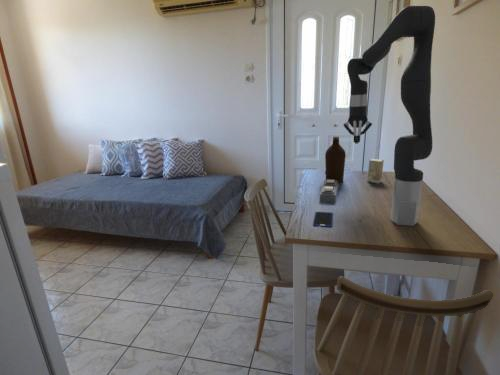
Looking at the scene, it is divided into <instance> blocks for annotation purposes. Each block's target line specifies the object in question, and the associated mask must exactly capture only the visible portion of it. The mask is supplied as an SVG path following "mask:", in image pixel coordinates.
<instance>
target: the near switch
mask: <svg viewBox="0 0 500 375" xmlns="http://www.w3.org/2000/svg"><path fill="white" fill-rule="evenodd" d="M332 190H333V187H332V186H325V188H324V191H332Z"/></svg>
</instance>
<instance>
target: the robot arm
mask: <svg viewBox="0 0 500 375" xmlns="http://www.w3.org/2000/svg"><path fill="white" fill-rule="evenodd" d="M435 27H436V13H435V10H434V8H433V7H432V6H429V5H407V6H405V7H404V8H402V9H401V10H400V11H399V12H398V13H397V14H396V15H395V16H394V17H393V19H392V20H391V22H390V23H389V24H388V25H387V27H386V28H385V29H384V30H383V32H382V33H381V35H380V36H379V37H378V38H377V40H375V41H374V42H373V43H372V44H371V45H370V46H369V47H368V48H367V49H365V51H364V52H363V54H362V56H361V57H353V58H350V60H349V61H348V63H347V66H346V67H347V74H348V79H349V83H350V98H349V111H348V112H349V114H348V119H347V121H346V122H345V123H343V127H344V128H345V130H347V132H348V133H349V135H352V136H353V143H354V144H355V145H356V144H359V143H360V142H361V136H362V135H365V133H367V131H368V130H369V129H370V128H371V126H372V125H373V123H372V122H370V121H369V120H368V82H367V80H364V79H361V77H360V76H361V75H362V76H363V75H368V74H370V73H371V72H372V71H373V70H374V69H375V67H376V65H377V64H378V63H379V62H381V61H382V60H383V59H385V58H386V57H387V55H388V54H389V53H390V50H391V48H392V44H393V43H394V42H396V41H397V40H400V39H402V38H413V51H412V54H411V58H410V60H409V62H408V64H407V65H406V67H405V69H404V71H403V73H402V75H401V78H400V100H401V102H402V104H403V107H404V108H405V110H406V112H407V114H408V115H409V117H410V119H411V122H412V134H409V135H402V136H400V137H399V138H397V140H396V142H395V145H394V153H393V170H394V180H393V181H394V182H393V183H394V184H393V191H392V201H391V213H390V220H391V222H393V223H395V225H399V226H407V227H408V226H411V227H415V225H416V224H417V223H418V216H419V210H420V202H421V195H422V194H421V193H422V187H423V179H424V173H423V171H422V170H420V169H418V168H415V161H420V160H422V161H423V160H426V159H427V158H429V157H430V156H431V154H432V151H433V134H432V121H431V120H432V119H431V92H432V54H433V52H432V51H433V44H434V43H433V41H434V36H435ZM350 126H351V128H352V129H353V130H352V129H351V128H350ZM364 126H365V127H364ZM363 127H364V128H363ZM362 128H363V130H362Z"/></svg>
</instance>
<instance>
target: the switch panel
mask: <svg viewBox="0 0 500 375" xmlns="http://www.w3.org/2000/svg"><path fill="white" fill-rule="evenodd" d="M325 186H332V187H333V190H332V191H324V188H325ZM338 189H339V184H338V181H337V180H335V182H334V183H329V182H327V180H326V179H325V180H324V181H323V185H322V188H321V189H320V190H321V191H320V194H319V202H326V203H336V201H337V195H338Z"/></svg>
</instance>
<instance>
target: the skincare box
mask: <svg viewBox="0 0 500 375" xmlns="http://www.w3.org/2000/svg"><path fill="white" fill-rule="evenodd" d="M383 170H384V159H379V158H378V159H376V158H371V159H369V161H368V171H367V172H368V173H367V179H366V181H367V182H370V183H373V184H374V183H375V184H380V183H381V182H382V178H383Z"/></svg>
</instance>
